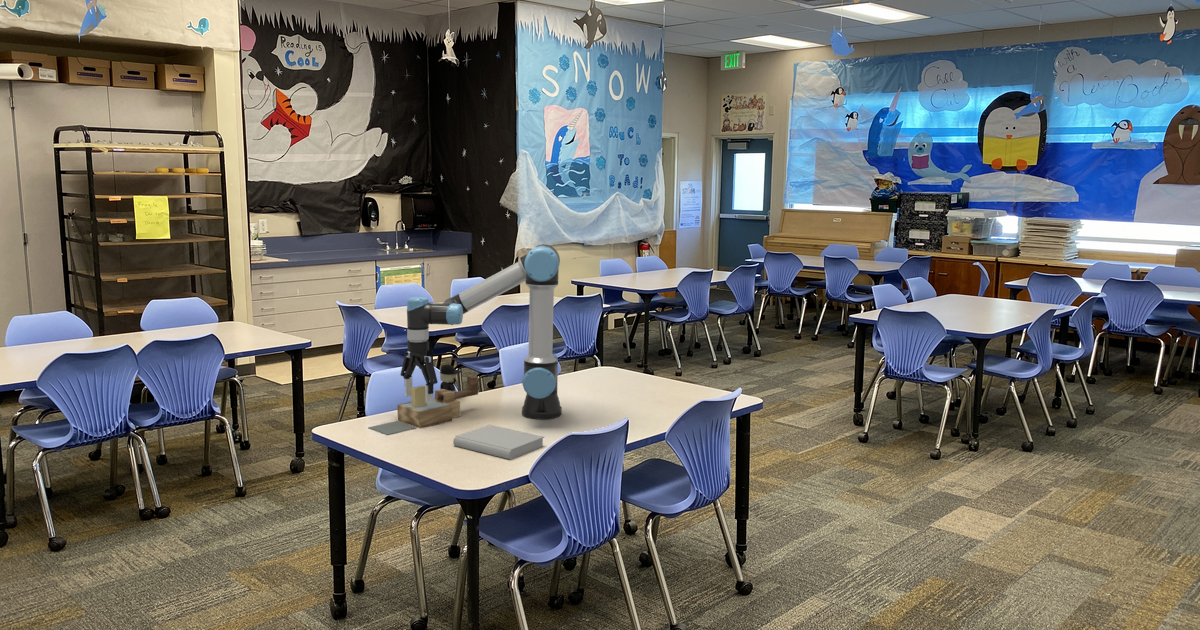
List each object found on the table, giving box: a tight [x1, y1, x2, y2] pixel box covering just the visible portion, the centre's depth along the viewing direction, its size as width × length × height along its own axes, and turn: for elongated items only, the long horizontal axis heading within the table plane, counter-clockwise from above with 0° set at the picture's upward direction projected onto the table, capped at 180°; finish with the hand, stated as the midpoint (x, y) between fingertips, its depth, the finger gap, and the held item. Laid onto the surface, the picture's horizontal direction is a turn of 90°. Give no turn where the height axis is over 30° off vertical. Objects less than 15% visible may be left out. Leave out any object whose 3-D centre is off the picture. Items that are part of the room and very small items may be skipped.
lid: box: [402, 385, 447, 411], centre depth 313 cm, size 12×12×8 cm
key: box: [442, 375, 479, 400], centre depth 324 cm, size 3×15×7 cm, turn 137°
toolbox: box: [396, 389, 461, 429], centre depth 315 cm, size 14×20×10 cm
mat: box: [368, 420, 417, 436], centre depth 304 cm, size 12×12×1 cm
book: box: [452, 424, 545, 461], centre depth 285 cm, size 18×4×24 cm
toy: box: [439, 364, 462, 392], centre depth 342 cm, size 8×9×15 cm
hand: (419, 399), depth 311 cm, fingers open, 12 cm apart
